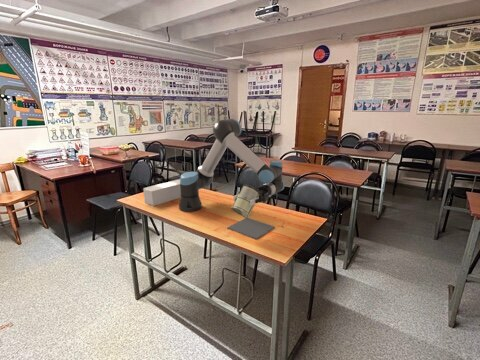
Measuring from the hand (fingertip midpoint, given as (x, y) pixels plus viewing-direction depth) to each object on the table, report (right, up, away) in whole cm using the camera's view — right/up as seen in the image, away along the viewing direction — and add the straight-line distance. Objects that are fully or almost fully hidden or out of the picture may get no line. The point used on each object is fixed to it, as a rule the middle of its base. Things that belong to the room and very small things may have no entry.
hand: (242, 200), depth 136 cm
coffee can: (-1, -6, 0) cm, 6 cm away
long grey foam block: (-54, -3, +59) cm, 80 cm away
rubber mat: (+5, -16, +12) cm, 21 cm away
